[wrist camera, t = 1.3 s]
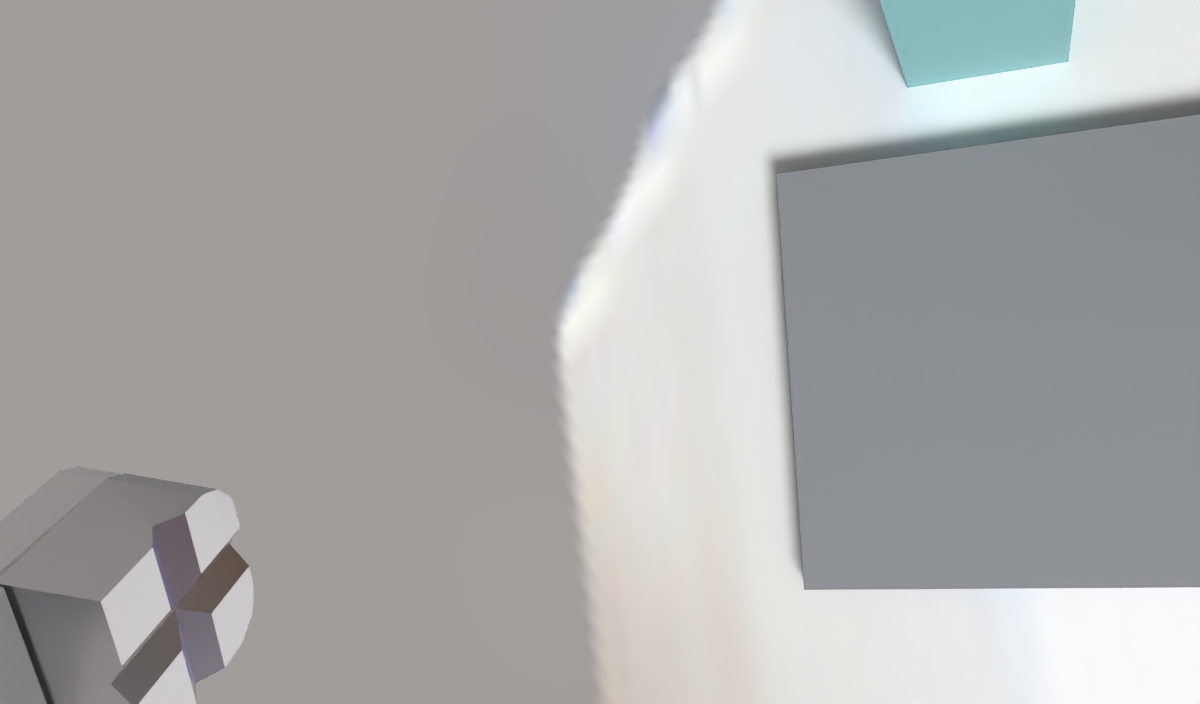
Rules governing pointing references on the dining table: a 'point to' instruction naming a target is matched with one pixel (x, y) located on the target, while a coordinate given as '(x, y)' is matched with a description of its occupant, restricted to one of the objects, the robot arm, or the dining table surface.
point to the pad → (999, 363)
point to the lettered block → (976, 36)
